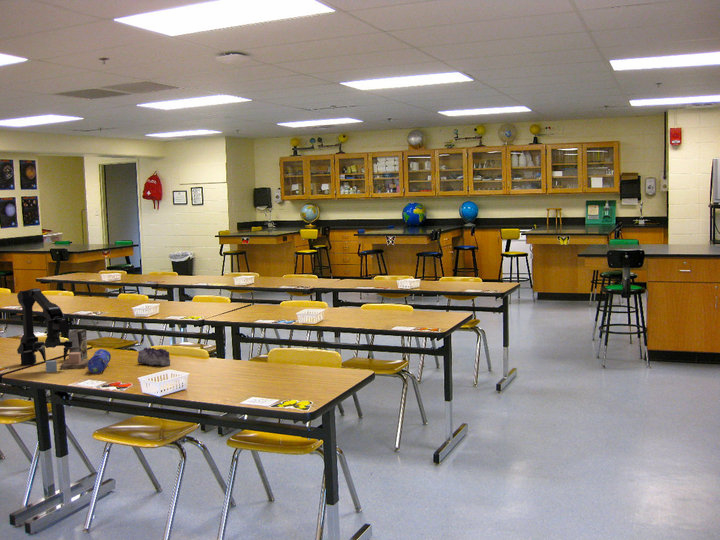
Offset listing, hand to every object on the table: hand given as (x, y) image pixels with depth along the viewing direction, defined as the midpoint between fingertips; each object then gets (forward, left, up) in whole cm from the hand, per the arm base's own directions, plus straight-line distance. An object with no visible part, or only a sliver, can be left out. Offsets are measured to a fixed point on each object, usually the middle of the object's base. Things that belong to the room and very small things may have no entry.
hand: (54, 361), depth 349 cm
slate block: (-2, -1, -5) cm, 5 cm away
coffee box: (+6, +26, -5) cm, 27 cm away
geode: (+49, +5, -5) cm, 50 cm away
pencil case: (+22, -2, -5) cm, 23 cm away
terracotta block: (+8, +8, -3) cm, 12 cm away
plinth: (+8, +8, -5) cm, 12 cm away
